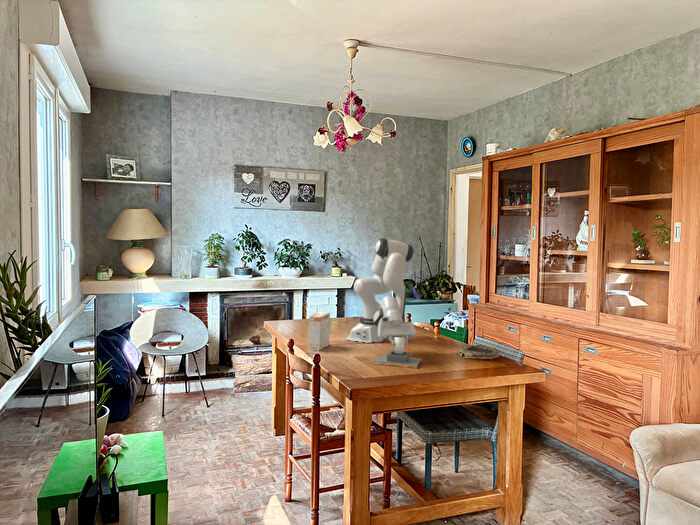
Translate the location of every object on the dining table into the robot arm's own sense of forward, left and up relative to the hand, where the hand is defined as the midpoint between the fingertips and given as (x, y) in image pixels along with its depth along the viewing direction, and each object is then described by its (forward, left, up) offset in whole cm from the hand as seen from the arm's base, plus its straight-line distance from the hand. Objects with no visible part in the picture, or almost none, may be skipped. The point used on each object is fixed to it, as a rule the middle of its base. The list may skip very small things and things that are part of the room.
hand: (399, 344), depth 265 cm
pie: (+39, +32, -11) cm, 52 cm away
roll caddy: (-1, +1, -10) cm, 10 cm away
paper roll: (0, 0, -5) cm, 5 cm away
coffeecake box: (-50, +16, -10) cm, 53 cm away
